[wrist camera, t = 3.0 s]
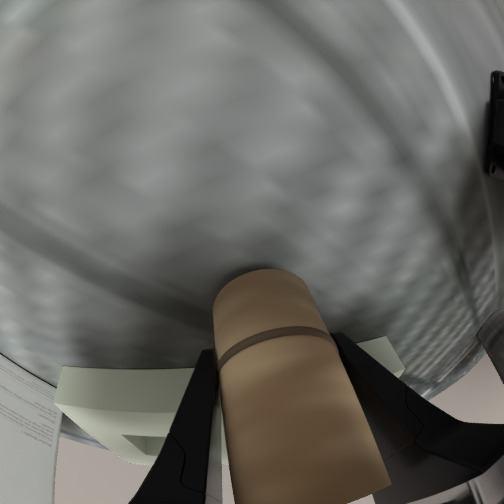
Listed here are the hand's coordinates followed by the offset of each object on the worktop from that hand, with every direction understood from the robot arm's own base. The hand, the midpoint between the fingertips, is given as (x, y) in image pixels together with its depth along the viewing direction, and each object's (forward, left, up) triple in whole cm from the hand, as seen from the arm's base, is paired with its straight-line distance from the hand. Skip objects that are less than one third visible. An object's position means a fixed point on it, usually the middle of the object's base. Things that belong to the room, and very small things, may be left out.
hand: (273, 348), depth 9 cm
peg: (0, 0, -2) cm, 2 cm away
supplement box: (+20, +10, -4) cm, 23 cm away
